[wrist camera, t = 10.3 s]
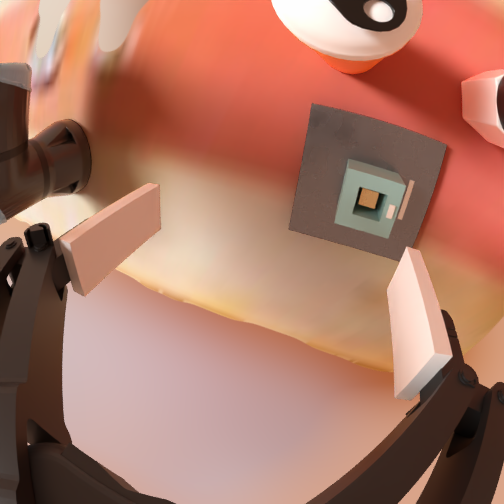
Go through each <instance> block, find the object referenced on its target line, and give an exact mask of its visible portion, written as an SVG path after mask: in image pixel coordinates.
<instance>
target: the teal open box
mask: <svg viewBox="0 0 504 504" xmlns="http://www.w3.org/2000/svg"><path fill="white" fill-rule="evenodd" d="M359 187H363V188H366V189H369V190H373V191H376V192H379V193H380V194H379V197H378V200H377V204H376V205H375V209H373V208H370V207H366V206H363V205H360V204H358V200H356V198H357V194H358V191H359ZM405 187H406V185H405V183H404V182H403V180H402V179H401V177H400V175H399V174H398V173H395V172H392V171H389V170H386V169H383V168H379V167H376V166H373V165H370V164H366V163H363V162H359V161H356V160H352V159H348V163H347V168H346V172H345V176H344V180H343V185H342V189H341V193H340V197H339V201H338V205H337V210H336V216H335V222H334V223H336V224H339V225H343V226H346V227H350V228H353V229H357V230H360V231H364V232H367V233H370V234H374V235H377V236H380V237H384V238H387V239H388V238H389V235H390V232H391V229H392V227H393V224H394V221H395V218H396V215H397V212H398V209H399V206H400V203H401V200H402V197H403V194H404V191H405Z"/></svg>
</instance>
